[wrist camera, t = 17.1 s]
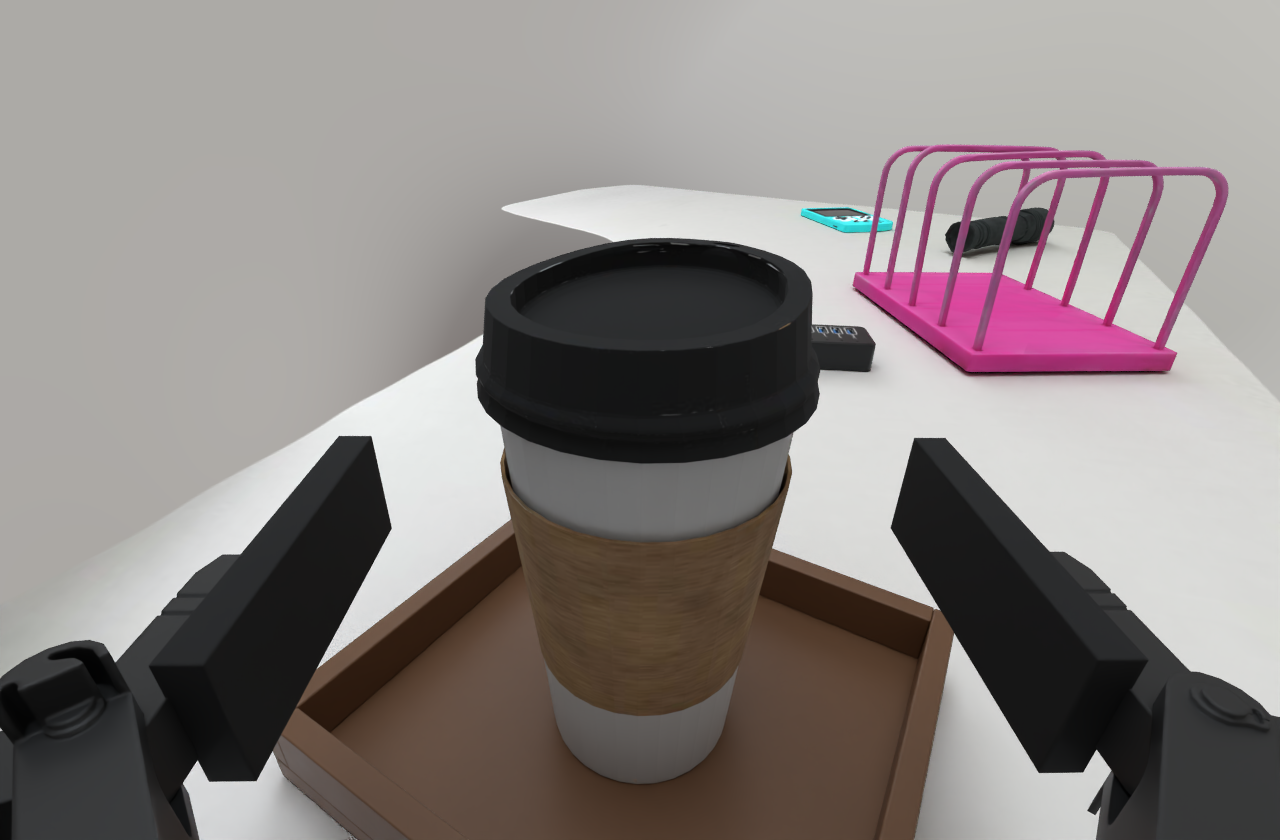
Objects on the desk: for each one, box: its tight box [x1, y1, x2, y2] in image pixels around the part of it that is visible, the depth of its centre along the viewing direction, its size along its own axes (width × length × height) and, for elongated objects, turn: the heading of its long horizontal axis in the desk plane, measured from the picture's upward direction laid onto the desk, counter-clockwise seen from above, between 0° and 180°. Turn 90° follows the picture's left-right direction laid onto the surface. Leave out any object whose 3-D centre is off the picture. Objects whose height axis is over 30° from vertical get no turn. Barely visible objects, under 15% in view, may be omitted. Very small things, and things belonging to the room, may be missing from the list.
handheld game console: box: [801, 207, 893, 232], centre depth 107 cm, size 10×16×1 cm, turn 13°
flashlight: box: [945, 208, 1054, 252], centre depth 90 cm, size 5×21×5 cm, turn 123°
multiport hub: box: [811, 325, 876, 371], centre depth 51 cm, size 4×11×2 cm, turn 85°
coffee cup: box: [476, 238, 820, 784], centre depth 18 cm, size 8×8×15 cm
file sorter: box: [853, 145, 1228, 372], centre depth 57 cm, size 17×25×16 cm
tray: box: [273, 519, 954, 840], centre depth 21 cm, size 18×16×3 cm
